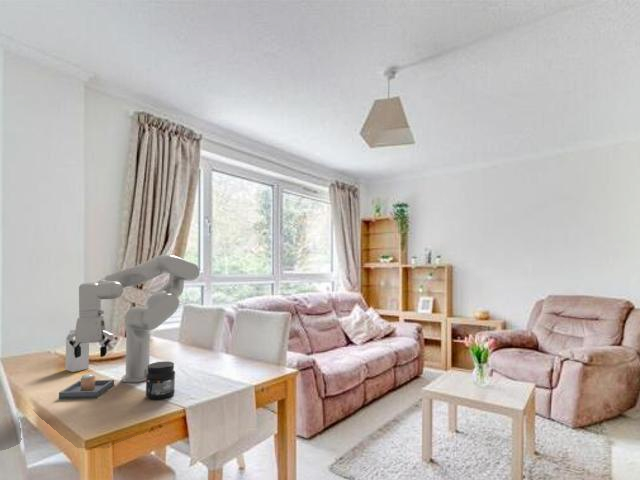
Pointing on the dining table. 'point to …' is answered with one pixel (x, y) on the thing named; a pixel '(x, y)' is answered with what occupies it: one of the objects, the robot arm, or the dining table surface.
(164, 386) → the supplement container
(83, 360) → the milk carton
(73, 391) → the tray
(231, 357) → the dining table surface
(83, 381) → the salt shaker
